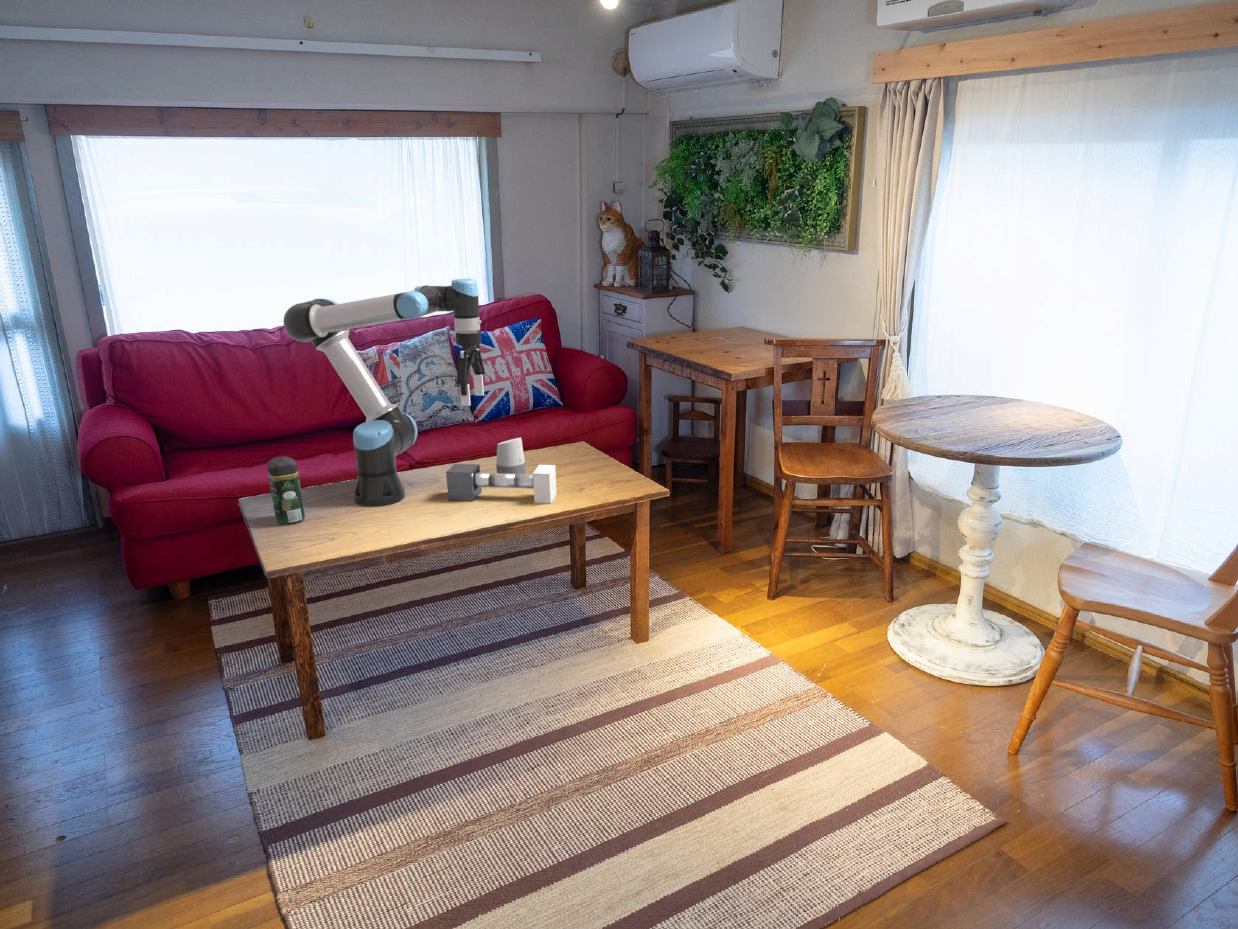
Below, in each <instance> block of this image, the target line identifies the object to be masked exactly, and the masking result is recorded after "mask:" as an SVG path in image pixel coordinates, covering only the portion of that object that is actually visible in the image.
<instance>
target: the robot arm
mask: <svg viewBox="0 0 1238 929" xmlns="http://www.w3.org/2000/svg"><path fill="white" fill-rule="evenodd" d="M478 291H479V290H478V283H477V280H476V279H474V278H455V279H452V281H451V284H450V285H427V284H425V285H418V286H415V287H414V289H413V290H410V291H404V292H400V293H395V294H394V293H393V294H387V295H382V296H377V297H371V298H365V299H360V300H354V301H348V302H344V303H343V302H342V303H338V302H337V301H335V300H332V299H329V298H315V299H312V300H309V301H306V302H305V301H304V302H300V303H296V304H294V305H291V307H289V308H288V309H287V310H286V312H285V314H284V316H283V320H282V322H283V323H282V324H283V327H284V330H285V332H286V334H287V335H288V336H289V337H290V338H291V339H293V340H294V341H297V342H301V343H310V342H311V343H312V345H313V346H314V348H315V350H317V351H321V352H323V353H324V354H325V356H326V357H327V358H328V360H329V362H330V364H331V365H332V367H333V369H335V371H336V373H337V375H338V376H339V377H340V379H341V380H342V382H343V384H344V386H345V387H346V388H347V390H348V391H349V392H350V394H351V396H352V397H353V399H354V400H355V402H356V403H357V405H358V407H359V408H360V410H361V411H362V413H363V414H364V416H365V417H366V419H365V422H362V423H360V424H359V425H357V426H356V427H354V430H353V432H352V434H353V435H352V437H353V438H352V441H353V442H352V443H353V446H354V455H355V463H356V472H357V479H356V483H355V488H354V493H353V496H354V502H355V503H356V504H357V505H360V506H365V507H380V506H387V505H388V506H389V505H392V504H395V503H398V502H400V501H402V500H404V498H405V497H406V491H405V486H404V484H403V482H402V481H401V478H400V476H399V474H398V470H397V462H396V461H397V460H396V457H398V455H401V454H402V453H404V452H405V451H407V450H409V449H410V448H411V447H412V446H413V445H414V444H415V442H416V441H417V437H418V434H419V433H418V432H419V431H418V426H417V424H416V421H415V419H414V418H413V417H412V416H411V415H410V414H408V413H407V414H406V413H405V412H402V411H401V409H400V407H399V406H398V405H397V404H392V403H390V401H389V399H388V398H387V396H386V395H385V393H384V391H383V390H382V388H381V387H380V385H379V384H378V382H377V380H376V379H375V378H374V376H373V375H372V373H371V372H370V369H368V367H367V365H366V363H365V362H364V360H363V359H362V357H361V356H360V354H359V353H358V351H357V349H356V348H355V346H354V345H353V344H352V342H351V340H350V339H349V335H350V334H349V333H350V330H351V329H357V328H362V327H367V326H374V325H381V324H385V323H391V322H397V321H402V320H403V321H405V320H417V319H419V318H422V317H424V316H428V315H430V314H433V313H437V312H453V321H454V322H453V324H454V331H456V333H455V334H454V335H455V344H456V345H457V346H460V347H461V350H458V351H457V354H458V355H457V356H458V358H457V371H456V372H457V374H456V382H455V384H456V386H459V393H460V394H459V396H460V407H470V406H471V394H470V393H471V391H470V384H469V377H470V372H471V369H472V371H473V373H474V374H473V388H474V389H473V390H474V396H477V397H478V396H485V393H484V392H485V391H484V379H483V378H484V377H483V375H486V370H485V366H484V362H483V356H482V352H481V346H480V344H482V335H481V334H482V333H481V331H480V330H481V324H482V320H480V303H479V301H480V300H479V295H480V294H479V292H478Z"/></svg>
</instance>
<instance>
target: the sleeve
mask: <svg viewBox="0 0 1238 929" xmlns="http://www.w3.org/2000/svg"><path fill="white" fill-rule="evenodd" d="M480 466H481V465H480V464H479V463H478V464H475V463H474V464H473V463H454V464H452V466H450V467H449V468H448V469H447V470H446V472H445V474H446V475H445V476H446V488H447V500H448V502H450V501H452V502H453V501H455V502H475V500H476V499H477V498H478V497H479V496H480V495H481V494H482V487H474V482H473V474H474V473H481V467H480Z"/></svg>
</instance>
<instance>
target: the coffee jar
mask: <svg viewBox="0 0 1238 929" xmlns="http://www.w3.org/2000/svg"><path fill="white" fill-rule="evenodd" d="M267 473H268V474H267V475H268V479H269V487H270V493H271V494H270V495H271V497H272V498H271V499H272V503H273V504H272V505H273V510H274V516H275V520H276V522H277V523H278V524H279V525H295V524H298V523H300V522H302V521H304V520H305V518H306V517H305V516H306V515H305V508H304V502H303V496H302V490H301V482H300V476H299V474H300V473H299V468H298V463H297V462H296V460H295V459H294V458H291V457H289V456H288V455H285V456H283V455H282V456H277V457H273V458H272V459H270V460H269V461H268V462H267Z"/></svg>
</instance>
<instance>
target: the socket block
mask: <svg viewBox="0 0 1238 929" xmlns="http://www.w3.org/2000/svg"><path fill="white" fill-rule="evenodd" d="M532 474H533V483H534V489H533V498H534V499H533V500H534V504H546V505H548V504H552V502H553V501H554V499H555V498H556V496H557V477H556V465H555V464H554V465H553V464H538V466H537V467H536V469H535V470H534V471H533V472H532Z"/></svg>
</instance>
